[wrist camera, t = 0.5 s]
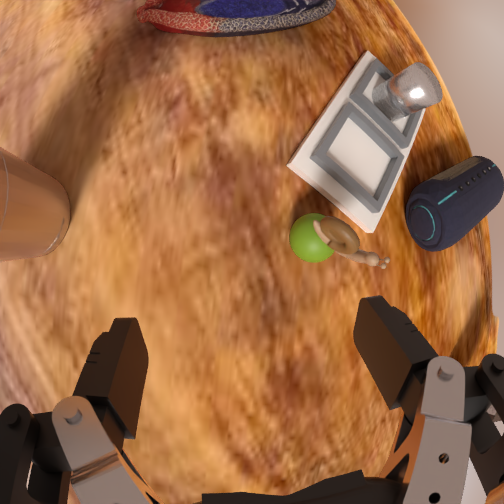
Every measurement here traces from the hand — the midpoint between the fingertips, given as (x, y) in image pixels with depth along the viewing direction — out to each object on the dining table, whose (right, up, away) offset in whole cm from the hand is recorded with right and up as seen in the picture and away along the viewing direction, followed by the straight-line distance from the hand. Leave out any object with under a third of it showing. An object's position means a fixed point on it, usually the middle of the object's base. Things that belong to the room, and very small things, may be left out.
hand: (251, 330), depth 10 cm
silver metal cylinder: (+20, +25, +26) cm, 42 cm away
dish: (-2, +38, +21) cm, 44 cm away
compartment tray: (+17, +20, +27) cm, 37 cm away
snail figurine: (+6, +4, +25) cm, 26 cm away
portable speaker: (+32, +12, +32) cm, 47 cm away
